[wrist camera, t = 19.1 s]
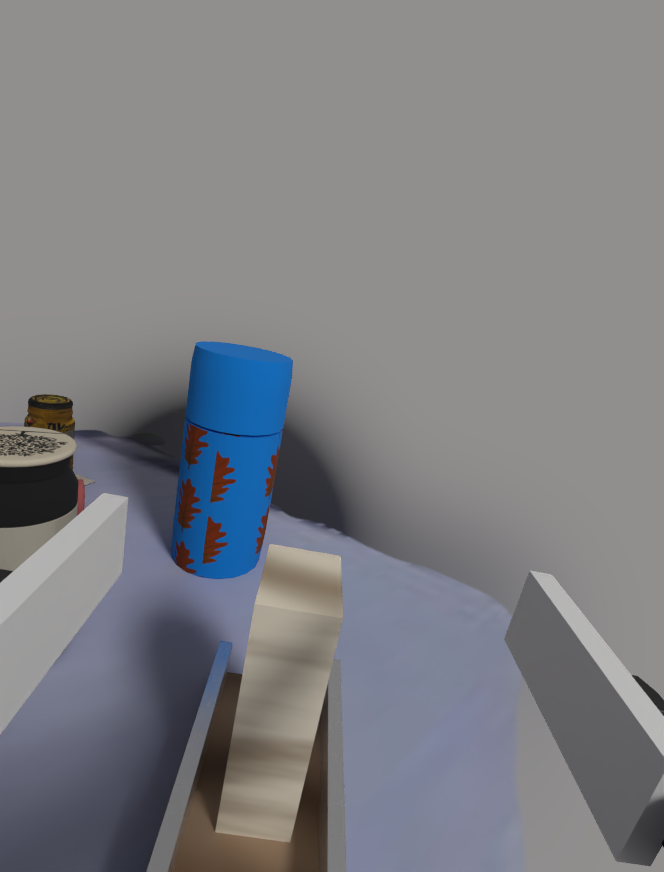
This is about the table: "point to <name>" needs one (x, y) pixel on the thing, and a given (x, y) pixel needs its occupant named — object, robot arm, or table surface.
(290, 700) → the pale wooden block
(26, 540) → the travel mug
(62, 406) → the condiment
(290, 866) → the floor track
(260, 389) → the thermos
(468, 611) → the table surface
